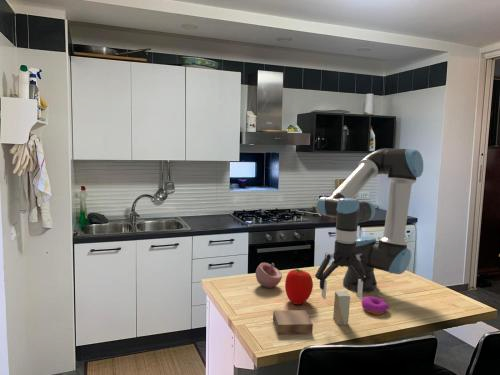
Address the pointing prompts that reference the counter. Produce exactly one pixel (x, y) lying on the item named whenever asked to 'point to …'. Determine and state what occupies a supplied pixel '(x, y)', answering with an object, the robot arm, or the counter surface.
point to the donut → (374, 305)
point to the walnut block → (292, 322)
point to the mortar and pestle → (268, 275)
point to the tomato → (298, 286)
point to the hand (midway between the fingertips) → (341, 297)
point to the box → (341, 307)
